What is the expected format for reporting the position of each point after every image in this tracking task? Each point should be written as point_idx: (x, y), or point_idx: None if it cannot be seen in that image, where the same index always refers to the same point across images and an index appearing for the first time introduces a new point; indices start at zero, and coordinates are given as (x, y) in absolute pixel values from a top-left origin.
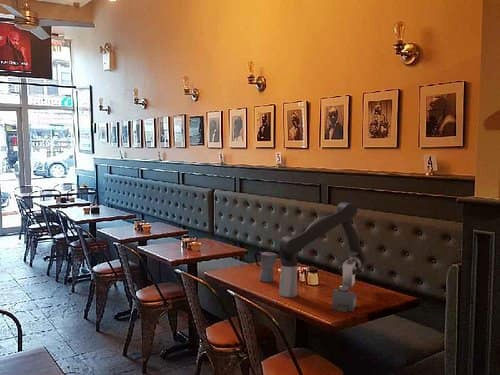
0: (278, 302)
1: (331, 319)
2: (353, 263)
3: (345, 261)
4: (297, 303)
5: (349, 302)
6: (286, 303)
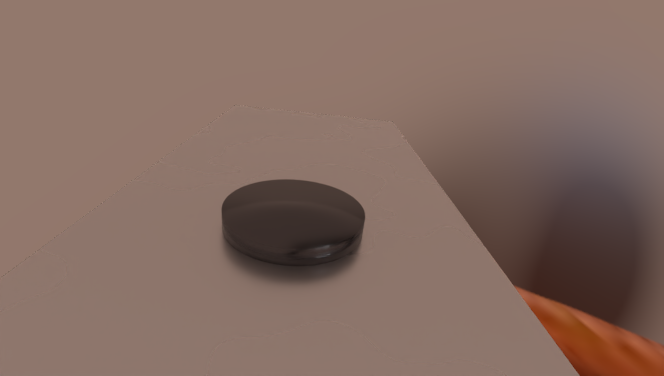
0: (660, 346)
1: None
2: (190, 141)
3: (443, 213)
4: (578, 363)
5: None
6: (616, 344)
